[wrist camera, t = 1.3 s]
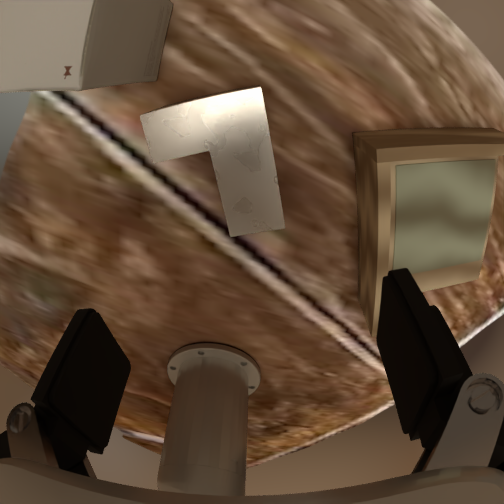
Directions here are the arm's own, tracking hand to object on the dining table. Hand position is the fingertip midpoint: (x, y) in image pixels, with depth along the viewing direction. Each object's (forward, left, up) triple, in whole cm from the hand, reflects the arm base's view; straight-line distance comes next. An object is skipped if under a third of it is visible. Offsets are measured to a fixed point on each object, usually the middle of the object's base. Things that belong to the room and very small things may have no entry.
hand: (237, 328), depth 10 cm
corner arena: (-8, -17, -19) cm, 27 cm away
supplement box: (+13, +8, -19) cm, 25 cm away
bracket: (+1, +2, -19) cm, 19 cm away
